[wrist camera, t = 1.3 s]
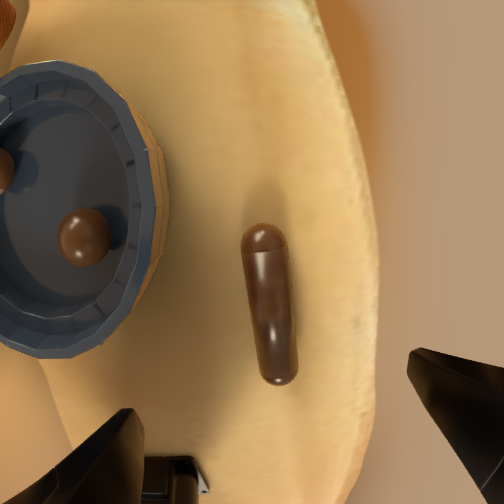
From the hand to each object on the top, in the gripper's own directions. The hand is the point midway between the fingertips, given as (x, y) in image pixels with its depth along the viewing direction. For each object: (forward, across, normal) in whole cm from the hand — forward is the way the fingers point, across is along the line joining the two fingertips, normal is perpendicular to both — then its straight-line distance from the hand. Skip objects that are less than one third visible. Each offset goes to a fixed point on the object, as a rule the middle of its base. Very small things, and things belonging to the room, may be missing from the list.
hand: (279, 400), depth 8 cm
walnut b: (+9, +8, -5) cm, 13 cm away
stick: (+10, -1, +1) cm, 10 cm away
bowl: (+10, +11, -7) cm, 16 cm away
